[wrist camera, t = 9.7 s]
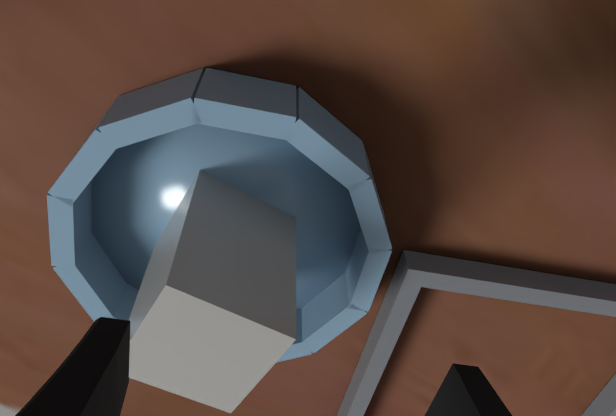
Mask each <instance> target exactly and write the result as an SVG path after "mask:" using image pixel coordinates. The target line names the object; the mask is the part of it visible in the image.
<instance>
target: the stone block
mask: <svg viewBox="0 0 616 416" xmlns="http://www.w3.org/2000/svg"><path fill="white" fill-rule="evenodd" d="M129 321H131V322H130V354H129V378H132V379H135V380H138V381H140V382H143V383H146V384H149V385H152V386H155V387H157V388H160V389H163V390H166V391H169V392H172V393H175V394H177V395H180V396H183V397H186V398H189V399H192V400H194V401H197V402H200V403H203V404H206V405H209V406H212V407H214V408H217V409H220V410H223V411H226V412H229V413H232V411H233V410H234V409H235V408H236V407H237V406H238V405H239V404H240V402H241V401H242V400H243V399H244V398H245V397H246V396H247V394H248V393H249V392H250V391H251V390H252V389H253V388H254V387H255V385H256V384H257V383H258V382H259V381H260V380H261V379H262V378H263V376H264V375H265V374H266V373H267V372H268V371H269V370H270V368H271V367H272V366H273V365H274V364H275V363H276V362H277V361H278V359H279V358H280V357H281V356H282V355H283V354H284V353H285V352H286V350H287V349H288V348H289V347H290V346H291V345H292V344H293V342H294V341H295V340H296V218H295V217H293V216H291V215H289V214H287V213H285V212H283V211H281V210H279V209H277V208H275V207H273V206H271V205H269V204H267V203H265V202H263V201H261V200H259V199H257V198H255V197H253V196H251V195H249V194H247V193H245V192H243V191H241V190H239V189H237V188H235V187H233V186H231V185H229V184H227V183H225V182H223V181H221V180H219V179H217V178H215V177H213V176H211V175H209V174H207V173H205V172H203V171H201V170H199V172H198V174H197V175H196V177H195V179H194V180H193V182H192V184H191V185H190V187H189V189H188V191H187V192H186V194H185V196H184V197H183V199H182V201H181V202H180V204H179V206H178V207H177V209H176V211H175V212H174V214H173V216H172V217H171V219H170V221H169V222H168V224H167V226H166V228H165V229H164V231H163V233H162V234H161V236H160V238H159V239H158V241H157V243H156V244H155V246H154V249H153V252H152V255H151V258H150V261H149V263H148V266H147V269H146V272H145V275H144V278H143V280H142V283H141V286H140V289H139V292H138V295H137V298H136V300H135V303H134V306H133V309H132V312H131V315H130V318H129Z"/></svg>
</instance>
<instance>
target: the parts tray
mask: <svg viewBox="0 0 616 416" xmlns="http://www.w3.org/2000/svg"><path fill="white" fill-rule="evenodd" d="M421 287H425V288H431V289H438V290H444V291H451V292H457V293H464V294H470V295H477V296H483V297H490V298H496V299H503V300H509V301H516V302H522V303H529V304H535V305H542V306H548V307H555V308H561V309H568V310H575V311H581V312H588V313H594V314H601V315H607V316H614V317H616V284H611V283H605V282H598V281H592V280H586V279H580V278H574V277H568V276H562V275H555V274H549V273H543V272H537V271H531V270H525V269H518V268H512V267H506V266H500V265H494V264H488V263H482V262H475V261H469V260H463V259H457V258H451V257H445V256H438V255H432V254H426V253H420V252H414V251H408V250H403V252H402V255H401V257H400V260H399V262H398V265H397V267H396V270H395V272H394V275H393V277H392V280H391V282H390V285H389V287H388V290H387V292H386V295H385V297H384V299H383V302H382V304H381V307H380V309H379V312H378V314H377V317H376V319H375V322H374V324H373V327H372V329H371V332H370V334H369V337H368V339H367V342H366V344H365V347H364V349H363V352H362V354H361V357H360V359H359V362H358V364H357V367H356V369H355V371H354V374H353V376H352V379H351V381H350V384H349V386H348V389H347V391H346V394H345V396H344V399H343V401H342V404H341V406H340V409H339V411H338V414H337V416H364V414H365V411H366V409H367V407H368V405H369V402H370V400H371V398H372V396H373V394H374V391H375V389H376V387H377V385H378V382H379V380H380V378H381V376H382V373H383V371H384V369H385V367H386V365H387V362H388V360H389V358H390V356H391V353H392V351H393V349H394V347H395V344H396V342H397V340H398V338H399V336H400V333H401V331H402V329H403V327H404V324H405V322H406V320H407V318H408V315H409V313H410V311H411V309H412V307H413V304H414V302H415V300H416V298H417V295H418V293H419V291H420V289H421ZM581 416H616V374H615V375H614V376H613V377H612V379H611V380H610V381H609V382H608V383H607V385H606V386H605V387H604V388H603V390H602V391H601V392H600V393H599V394H598V396H597V397H596V398H595V399H594V401H593V402H592V403H591V404H590V405H589V407H588V408H587V409H586V410H585V412H584V413H583V414H582V415H581Z"/></svg>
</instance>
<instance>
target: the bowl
mask: <svg viewBox="0 0 616 416" xmlns="http://www.w3.org/2000/svg"><path fill="white" fill-rule="evenodd" d="M199 170H201V171H203V172H205V173H207V174H209V175H211V176H213V177H215V178H217V179H219V180H221V181H223V182H225V183H227V184H229V185H231V186H233V187H235V188H237V189H239V190H241V191H243V192H245V193H247V194H249V195H251V196H253V197H255V198H257V199H259V200H261V201H263V202H265V203H267V204H269V205H271V206H273V207H275V208H277V209H279V210H281V211H283V212H285V213H287V214H289V215H291V216H293V217H295V218H296V340H295V341H294V342H293V344H292V345H291V346H290V347H289V348H288V349H287V350H286V352H285V353H284V354H283V355H282V356H281V357H280V358H279V359H278V361H277V362H280V361H285V360H289V359H293V358H298V357H302V356H306V355H311V354H312V352H313V353H315V352H316V351H318V350H319V349H320V348H322V347H323V346H324V345H326V344H327V343H328V342H330V341H331V340H332V339H334V338H335V337H336V336H338V335H339V334H340V333H342V332H343V331H344V330H346V329H347V328H348V327H350V326H351V325H352V324H354V323H355V322H356V321H358V320H359V319H360V318H362V317H363V316H364V315H366V314H367V311H369V309H370V307H371V304H372V302H373V299H374V297H375V294H376V291H377V289H378V286H379V284H380V281H381V279H382V276H383V273H384V271H385V268H386V266H387V263H388V261H389V258H390V255H391V253H392V246H391V241H390V237H389V233H388V229H387V224H386V220H385V216H384V212H383V208H382V204H381V201H380V197H379V194H378V191H377V187H376V184H375V180H374V177H373V174H372V170H371V167H370V163H369V160H368V156H367V153H366V150H365V146H364V143H362V140H361V139H360V138H359V137H357V136H356V135H355V134H354V133H353V132H351V131H350V130H349V129H348V128H347V127H346V126H344V125H343V124H342V123H341V122H340V121H339V120H337V119H336V118H335V117H334V116H333V115H332V114H330V113H329V112H328V111H327V110H326V109H324V108H323V107H322V106H321V105H320V104H319V103H317V102H316V101H315V100H314V99H313V98H312V97H310V96H309V95H308V94H307V93H306V92H304V91H303V90H302V89H301V88H300V87H299V88H298V89H297V90H296V85H291V84H286V83H281V82H276V81H271V80H266V79H261V78H256V77H251V76H246V75H241V74H236V73H231V72H226V71H221V70H216V69H211V68H206V70H205V71H204V69H203V68H201V69H198V70H195V71H192V72H189V73H186V74H183V75H180V76H177V77H174V78H171V79H168V80H164V81H161V82H158V83H155V84H152V85H149V86H146V87H143V88H140V89H137V90H134V91H131V92H128V93H125V94H122V95H120V97H118V98H117V99H116V100H115V102H114V103H113V104H112V106H111V107H110V108H109V110H108V111H107V112H106V114H105V115H104V116H103V118H102V119H101V120H100V122H99V123H98V124H97V126H96V127H95V128H94V130H93V131H92V132H91V134H90V135H89V136H88V138H87V139H86V140H85V142H84V143H83V144H82V146H81V147H80V148H79V150H78V151H77V152H76V154H75V155H74V156H73V158H72V159H71V161H70V162H69V163H68V165H67V166H66V168H65V169H64V170H63V172H62V173H61V175H60V176H59V177H58V179H57V180H56V182H55V183H54V185H53V186H52V187H51V189H50V190H49V192H48V194H47V205H48V220H49V235H50V250H51V266H53V269H54V270H55V272H56V273H57V274H58V276H59V277H60V278H61V279H62V281H63V282H64V283H65V285H66V286H67V287H68V288H69V290H70V291H71V292H72V294H73V295H74V296H75V297H76V299H77V300H78V301H79V303H80V304H81V305H82V307H83V308H84V309H85V310H86V312H87V313H88V314H89V316H90V317H91V318H92V319H93V321H95V320H96V319H98V318H100V317H106V318H114V319H121V320H129V318H130V315H131V312H132V309H133V306H134V303H135V300H136V298H137V295H138V292H139V289H140V286H141V283H142V280H143V278H144V275H145V272H146V269H147V266H148V263H149V261H150V258H151V255H152V252H153V249H154V246H155V244H156V243H157V241H158V239H159V238H160V236H161V234H162V233H163V231H164V229H165V228H166V226H167V224H168V222H169V221H170V219H171V217H172V216H173V214H174V212H175V211H176V209H177V207H178V206H179V204H180V202H181V201H182V199H183V197H184V196H185V194H186V192H187V191H188V189H189V187H190V185H191V184H192V182H193V180H194V179H195V177H196V175H197V174H198V172H199Z"/></svg>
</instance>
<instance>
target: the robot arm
mask: <svg viewBox="0 0 616 416" xmlns="http://www.w3.org/2000/svg"><path fill="white" fill-rule="evenodd" d="M130 322H131V321H129V320H121V319H114V318H106V317H100V318H98V319H96V320H95V321H94V323H93V324H92V326H91V327H90V329H89V330H88V331H87V333H86V334H85V335H84V337H83V338H82V339H81V341H80V342H79V343H78V344H77V346H76V347H75V348H74V350H73V351H72V352H71V353H70V355H69V356H68V357H67V358H66V359H65V361H64V362H63V363H62V364H61V365H60V367H59V368H58V369H57V370H56V371H55V373H54V374H53V375H52V376H51V377H50V378H49V379H48V380H47V382H46V383H45V384H44V385H43V386H42V387H41V388H40V389H39V391H38V392H37V393H36V394H35V395H34V396H33V397H32V399H31V400H30V401H29V402H28V403H27V404H26V405H25V406H24V407H23V408H22V409H21V410H20V411H19V412H18V413H17V414H16V415H15V416H120V413H121V409H122V406H123V402H124V398H125V394H126V390H127V387H128V383H129V354H130ZM425 416H512V415H511V414H510V412H509V411H508V409H507V408H506V406H505V405H504V403H503V402H502V401H501V399H500V398H499V396H498V395H497V393H496V392H495V390H494V389H493V387H492V386H491V385H490V383H489V382H488V380H487V379H486V377H485V376H484V374H483V373H482V372H481V370H480V369H479V367H475V366H468V365H460V364H452V366H451V368H450V370H449V372H448V374H447V375H446V377H445V379H444V381H443V383H442V385H441V386H440V388H439V390H438V392H437V394H436V396H435V398H434V399H433V401H432V403H431V405H430V407H429V409H428V411H427V412H426V414H425Z"/></svg>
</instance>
